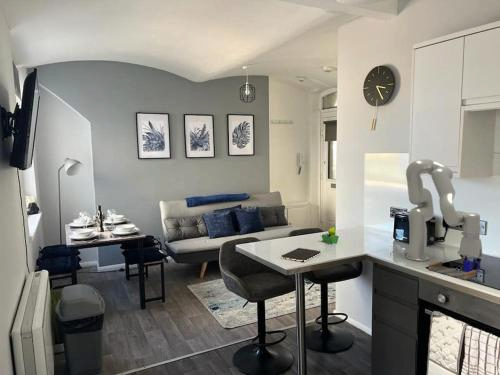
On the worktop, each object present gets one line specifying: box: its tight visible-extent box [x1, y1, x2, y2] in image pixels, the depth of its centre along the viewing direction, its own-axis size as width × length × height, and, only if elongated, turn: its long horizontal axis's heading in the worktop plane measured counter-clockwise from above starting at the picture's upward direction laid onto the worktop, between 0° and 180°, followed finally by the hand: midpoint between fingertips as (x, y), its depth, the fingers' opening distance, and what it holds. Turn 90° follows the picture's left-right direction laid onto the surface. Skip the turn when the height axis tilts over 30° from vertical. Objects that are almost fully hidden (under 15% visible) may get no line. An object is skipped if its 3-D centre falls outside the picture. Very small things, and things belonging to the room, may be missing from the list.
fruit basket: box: [321, 226, 340, 245], centre depth 273 cm, size 11×9×11 cm
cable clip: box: [463, 258, 482, 272], centre depth 208 cm, size 12×4×6 cm, turn 124°
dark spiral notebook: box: [281, 247, 321, 261], centre depth 240 cm, size 16×23×2 cm
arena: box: [427, 261, 478, 281], centre depth 203 cm, size 20×11×3 cm, turn 32°
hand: (470, 267), depth 208 cm, fingers closed on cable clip, 4 cm apart
